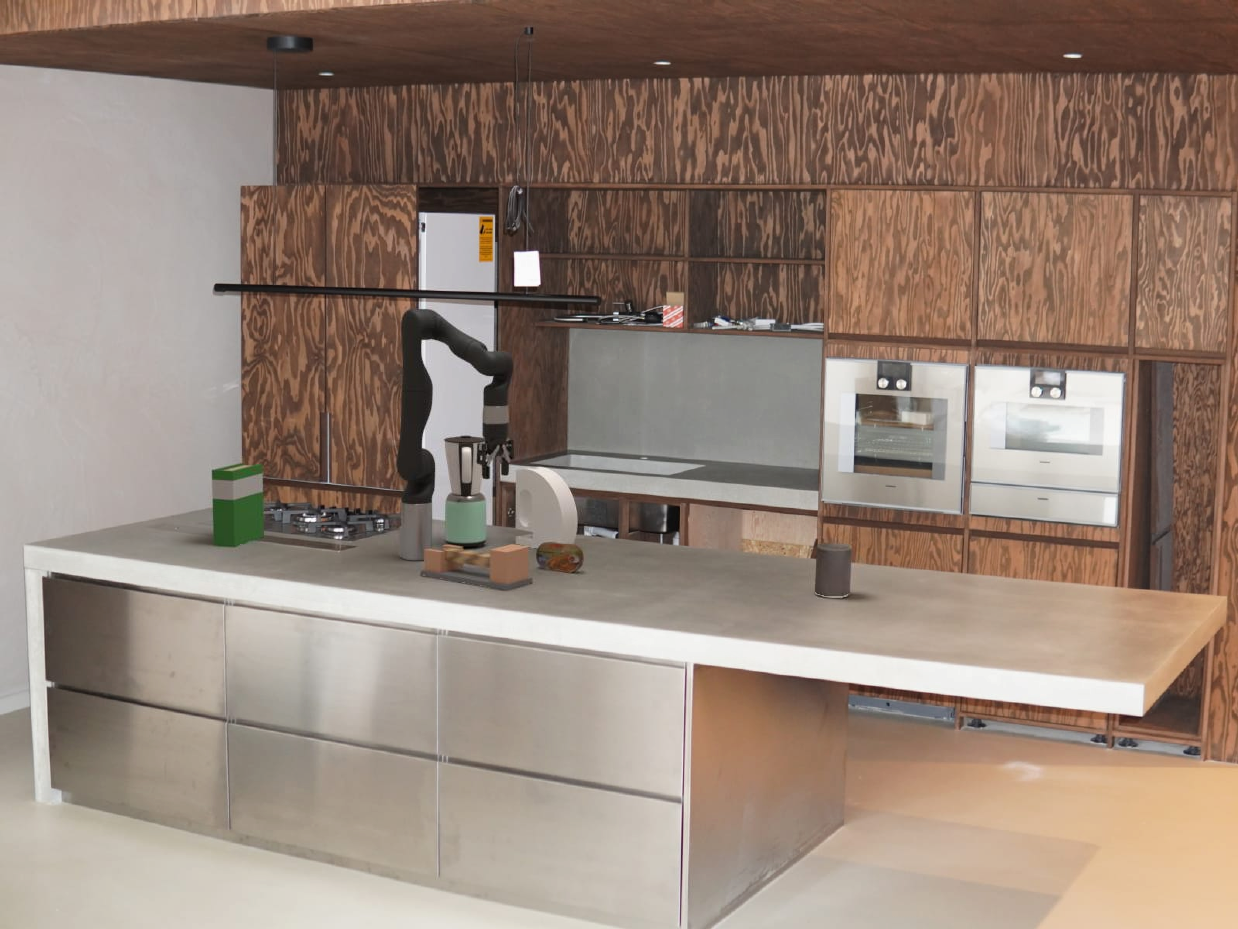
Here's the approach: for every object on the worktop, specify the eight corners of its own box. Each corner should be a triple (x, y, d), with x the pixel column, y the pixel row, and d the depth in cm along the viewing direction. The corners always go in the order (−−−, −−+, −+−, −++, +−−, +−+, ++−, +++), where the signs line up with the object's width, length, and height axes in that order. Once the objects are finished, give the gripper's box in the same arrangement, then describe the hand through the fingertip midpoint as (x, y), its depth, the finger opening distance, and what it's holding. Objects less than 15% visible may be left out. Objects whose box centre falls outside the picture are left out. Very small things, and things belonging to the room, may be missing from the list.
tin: (535, 568, 415) (535, 540, 414) (540, 566, 418) (541, 539, 417) (579, 574, 408) (580, 546, 407) (585, 572, 411) (585, 544, 410)
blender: (443, 540, 455) (443, 433, 450) (485, 540, 457) (485, 432, 452) (445, 552, 436) (445, 440, 432) (489, 551, 439) (489, 440, 434)
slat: (440, 559, 404) (440, 549, 404) (450, 557, 407) (450, 547, 407) (506, 570, 391) (506, 560, 391) (515, 568, 394) (515, 557, 394)
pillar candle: (807, 592, 390) (809, 539, 387) (838, 589, 393) (840, 536, 391) (826, 600, 381) (828, 546, 379) (857, 597, 385) (859, 543, 382)
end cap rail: (420, 575, 404) (420, 539, 402) (448, 568, 414) (448, 533, 412) (505, 590, 387) (506, 553, 385) (532, 583, 397) (532, 546, 395)
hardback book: (243, 535, 459) (241, 462, 456) (263, 537, 457) (262, 463, 454) (213, 545, 442) (211, 470, 439) (234, 547, 440) (232, 471, 437)
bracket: (530, 542, 455) (530, 465, 452) (577, 551, 441) (577, 471, 438) (515, 545, 450) (515, 467, 447) (562, 554, 436) (562, 474, 433)
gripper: (500, 418, 411) (500, 473, 413) (469, 422, 399) (469, 478, 401) (521, 419, 406) (521, 475, 409) (490, 424, 395) (490, 481, 397)
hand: (495, 477), depth 405 cm, fingers open, 8 cm apart
